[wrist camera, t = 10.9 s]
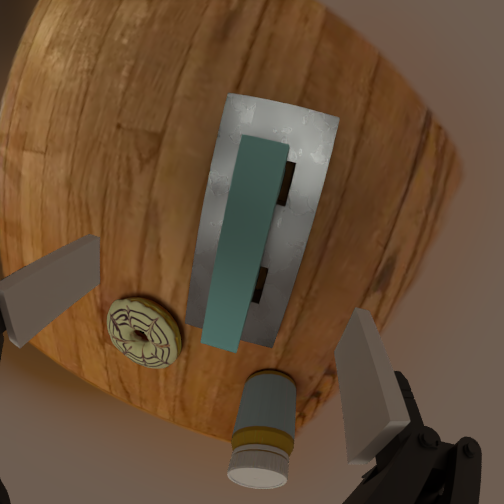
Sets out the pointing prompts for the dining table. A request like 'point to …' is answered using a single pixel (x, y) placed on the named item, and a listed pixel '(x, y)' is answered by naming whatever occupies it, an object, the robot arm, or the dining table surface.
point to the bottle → (264, 431)
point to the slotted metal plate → (285, 214)
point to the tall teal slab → (243, 238)
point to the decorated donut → (152, 324)
